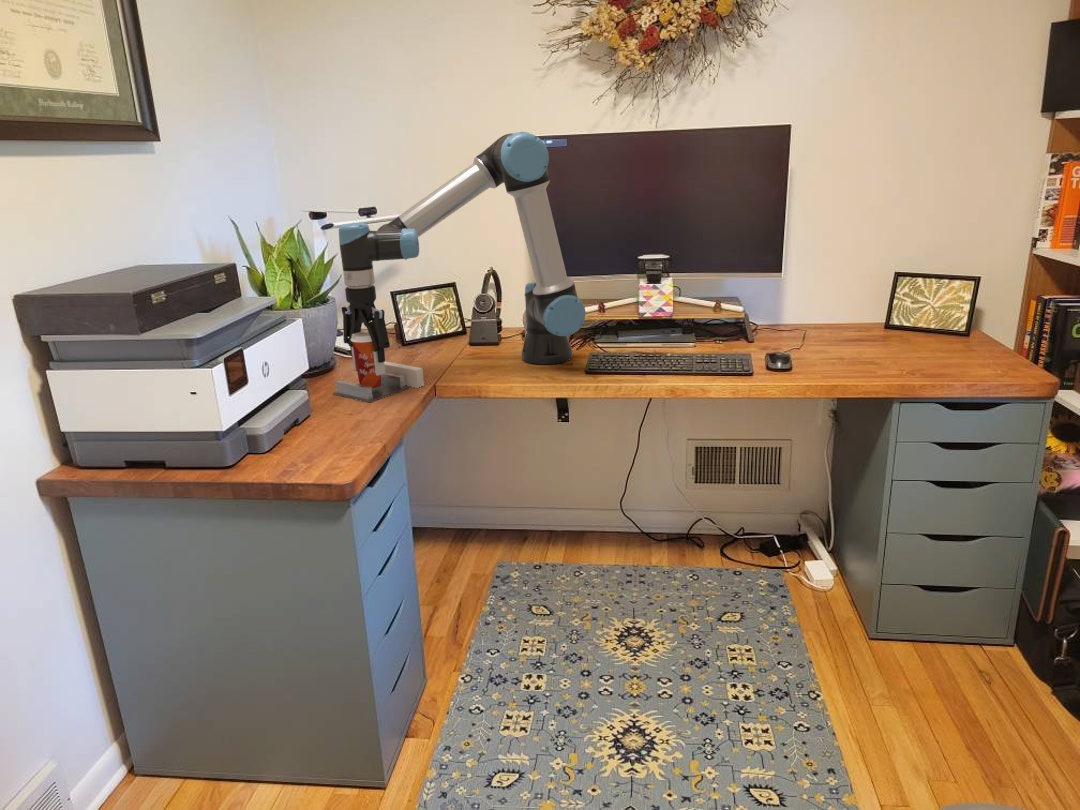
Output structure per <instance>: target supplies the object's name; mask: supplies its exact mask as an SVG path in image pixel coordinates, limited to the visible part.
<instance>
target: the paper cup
mask: <svg viewBox="0 0 1080 810" xmlns="http://www.w3.org/2000/svg"><path fill="white" fill-rule="evenodd" d="M351 341H352V344H353V350H354V356H355V363H356V368H357V371H356V372H357V373H356V374H357V377H358V382H359V383H358V384H360V385H364V386H369V387H372V388H375V387H379V386H380V385H381V375H378V376H377V375H376V373H375V364H374V355H373V350H375V347H374V345H373V342H372V340H371V337H370V334H369V332H368V330H361V332H357V333H354V334H352V338H351Z"/></svg>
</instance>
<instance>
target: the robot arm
mask: <svg viewBox="0 0 1080 810" xmlns="http://www.w3.org/2000/svg"><path fill="white" fill-rule="evenodd" d="M549 160H550V157H549V150H548V148H547V146H546V144H545V142H544V141H543V139H541V138H539V137H538V136H537V135H535V134H533V133H530V132H527V131H526V132H525V131H520V132H513V133H507V134H503V135H502V136H500V137H498V139H496V140H495V141H494V142H493V143H492V144H490V146H488V147H487V148H485V149H484V150H483V151H482V152H481V153H479V154H478V155H477V156H475V157H474V158H473V163H472V164H470V165H469V166H468V167H466V168H465V169H463V170H462V171H460V172H459V173H458V174H456V175H455V176H453V177H452V178H450V179H449V180H448V181H446V182H445V183H444V184H441V186H439V187H438V188H436V189H435V190H434V191H432V192H431V193H429V194H427V196H425V197H423V198H422V199H421V200H419V201H418V202H416V203H415V204H414V205H412V206H410V208H408V209H406V210H405V211H404V212H402V213H401V214H399V215H398V216H397V217H396V218H394V219H392V220H391V221H388V223H385V224H382V225H381V226H380V227H378V228H377V230H371V229H370V227H369V224H368V223H366V222H364V223H363V222H362V223H361V222H360V223H359V222H358V223H357V222H355V223H354V222H353V223H345V224H342V225H340V226H339V228H338V239H339V240H338V241H339V250H340V258H341V266H342V273H343V281H344V286H345V288H344V291H345V299H346V300H345V301H346V302H347V303H348V304H349V305H346V306H342V307H341V313H342V318H343V319H342V321H343V322H342V324H343V325H342V327H343V329H342V330H343V331H342V332H343V334H342V335H343V343H344V344H347V345H348V346H349V348H350V356H351V358H352V362H353V363H352V364H353V371H354V372H357V368H356V363H355V356H354V350H353V344H352V341H351V338H352V334H354V333H357V332H362V328H363V327H362V326H363V325H364V327H366V328H367V331H368V332H369V334H370V337H371V340H372V342H373V345H374V347H375V350H373V355H374V364H375V373H376V375H377V376H378V375H381V374H384V373H385V364H384V362H385V361H386V355H385V350H386V349H388V348H390V347H391V343H390V340H389V334H388V329H387V326H386V321H385V310H384V309H378V308H377V307H376V305H375V301H376V300H377V292H376V286H375V285H374V284H375V283H376V279H375V273H374V264H373V262H379V261H393V260H396V261H397V260H405V261H406V260H409V259H416V258H418V256H419V255H420V243H419V242H420V241H419V237H422V235H424V234H425V233H427V232H428V231H430V230H431V229H432V228H434V227H435V226H436V225H438V224H439V223H442V221H444V220H445V219H447V218H448V217H449V216H451V215H452V214H454V213H455V212H457V211H458V210H459V209H461V208H462V207H464V206H465V205H467V204H468V203H470V202H471V201H473V200H474V199H475V198H477V197H478V196H479V195H481V194H482V193H484V192H485V191H487V190H489V189H490V188H491V189H496V188H498V187H499V186H500V185H502V184H504V187H505V191H506V193H507V194H509V195H510V196H512V198H513V199H514V202H515V207H516V210H517V213H518V217H519V222H520V225H521V229H522V233H523V237H524V241H525V245H526V249H527V253H528V256H529V260H530V265H531V269H532V272H533V275H534V279H535V282H529V283H527V284H525V287H524V301H525V318H526V319H525V323H526V335H525V338H524V339H525V340H524V344H523V346H522V350H521V360H522V361H523V362H525V363H528V364H532V363H533V364H534V365H554V364H555V363H557V364H561V363H560V362H563V363H565V362H564V361H566V362H568V361H567V360H569V359H571V358H572V359H573V349H572V346H571V343H570V340H569V338H568V337H569V336H572V335H573V334H575V333H577V332H578V331H579V330H580V329H581V328H582V326H583V325H584V322H585V319H586V313H587V312H586V308H585V305H584V303H583V302H582V300H581V299H580V298H579V296H578V293H577V290H576V285H575V280H573V279H571V278H570V277H568V276H567V271H566V267H565V266H566V265H565V264H564V259H563V255H562V254H563V253H562V250H561V247H560V243H559V238H558V234H557V230H556V226H555V222H554V221H555V220H554V217H553V214H552V213H553V212H552V210H551V209H552V208H551V206H550V205H551V204H550V201H549V196H548V192H547V188H548V185H549V184H550V182H551V181H550V180H551V179H550V175H549V172H548V171H549V170H548V168H549V167H548V166H549V163H550V161H549ZM572 359H571V360H572ZM569 361H570V360H569Z"/></svg>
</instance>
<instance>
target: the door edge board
mask: <svg viewBox="0 0 1080 810" xmlns="http://www.w3.org/2000/svg"><path fill="white" fill-rule="evenodd" d="M384 364H385V372H386V373H392V374H397V375H402V376H404V383H405V385H407V386H408V387H409V386H411V387H410V388H414V387H415V388H414V389H419V387H420V388H422V387H421V386H423V387H425V382H424V370H423V367H419V366H413V365H407V364H401V363H397V362H393V361H392V362H390V361H386V360H385V362H384Z"/></svg>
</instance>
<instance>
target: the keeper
mask: <svg viewBox="0 0 1080 810" xmlns="http://www.w3.org/2000/svg"><path fill="white" fill-rule="evenodd" d="M335 386H336V391H334V392H333V393H332V394H333V396H334V395H335V396H338V395H339V396H338V397H342V396H344V397H343V398H346V397H348V398H347V399H351V398H352V400H355V399H357V400H356V401H360V400H361V401H360V402H364V401H365V403H368V402H371V403H373V402H376V401H378V400H377V399H379V400H381V399H380V398H382V399H384V398H386V397H385V396H387V397H389V396H388V395H390V396H392V395H395V394H398V393H400V392H399V391H401V390H403V391H405V390H404V389H406V390H408V389H407V388H409V389H410V387H409V386H405V383H404V376H402V375H397V374H392V373H386V372H385V373H384V374H381V385H380V386H379V387H375V388H372V387H369V386H364V385H360V383H354V382H349V381H344V380H338V381H335ZM397 392H398V393H397ZM401 392H402V391H401ZM394 393H395V394H394ZM391 394H392V395H391ZM383 397H384V398H383ZM375 400H376V401H375ZM372 401H373V402H372Z"/></svg>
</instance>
